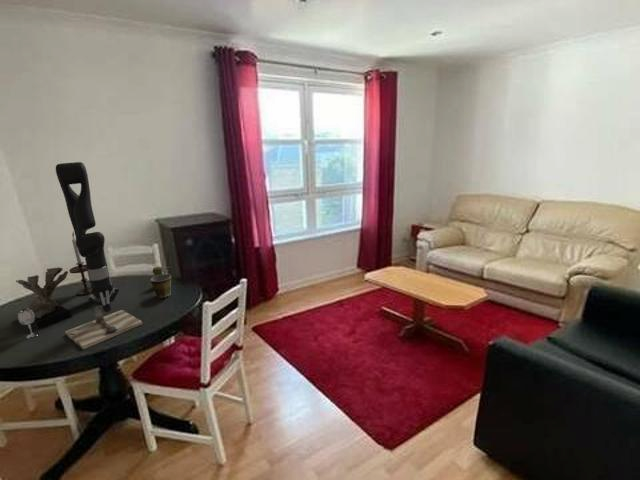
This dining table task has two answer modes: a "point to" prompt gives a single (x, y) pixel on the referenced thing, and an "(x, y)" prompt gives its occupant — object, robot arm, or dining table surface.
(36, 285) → the coral
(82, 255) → the robot arm
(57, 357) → the dining table surface
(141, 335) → the dining table surface
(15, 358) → the dining table surface
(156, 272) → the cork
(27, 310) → the wineglass
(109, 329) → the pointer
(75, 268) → the candlestick
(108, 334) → the board
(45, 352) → the dining table surface
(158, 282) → the ceramic cup
